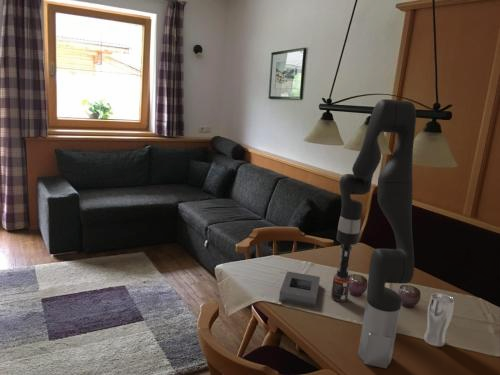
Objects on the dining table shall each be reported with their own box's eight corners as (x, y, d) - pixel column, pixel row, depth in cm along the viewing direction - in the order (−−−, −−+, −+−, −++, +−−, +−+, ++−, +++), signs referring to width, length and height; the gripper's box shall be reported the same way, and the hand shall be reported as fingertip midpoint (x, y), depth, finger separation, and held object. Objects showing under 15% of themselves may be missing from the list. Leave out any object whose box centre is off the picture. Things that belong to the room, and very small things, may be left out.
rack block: (315, 307, 143) (316, 298, 143) (278, 300, 146) (279, 291, 145) (319, 285, 160) (320, 276, 160) (286, 279, 163) (287, 271, 162)
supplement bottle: (347, 303, 148) (351, 274, 145) (330, 300, 149) (334, 272, 146) (347, 295, 154) (351, 268, 151) (331, 293, 155) (334, 265, 152)
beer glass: (444, 350, 124) (453, 306, 121) (420, 342, 128) (428, 298, 124) (447, 339, 130) (456, 297, 126) (424, 331, 133) (432, 290, 130)
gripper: (359, 237, 137) (353, 281, 141) (359, 224, 151) (353, 264, 155) (337, 234, 139) (331, 277, 143) (338, 221, 152) (333, 261, 156)
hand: (342, 270), depth 149 cm, fingers open, 8 cm apart
